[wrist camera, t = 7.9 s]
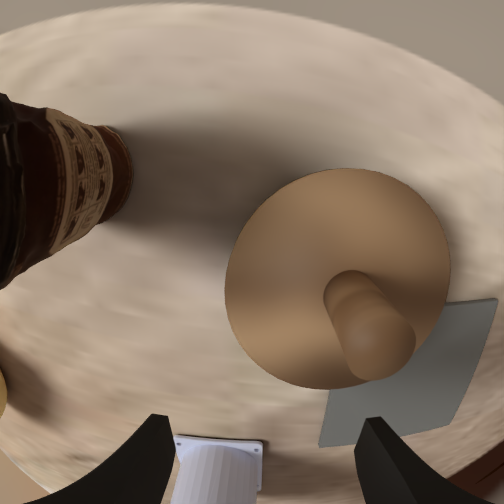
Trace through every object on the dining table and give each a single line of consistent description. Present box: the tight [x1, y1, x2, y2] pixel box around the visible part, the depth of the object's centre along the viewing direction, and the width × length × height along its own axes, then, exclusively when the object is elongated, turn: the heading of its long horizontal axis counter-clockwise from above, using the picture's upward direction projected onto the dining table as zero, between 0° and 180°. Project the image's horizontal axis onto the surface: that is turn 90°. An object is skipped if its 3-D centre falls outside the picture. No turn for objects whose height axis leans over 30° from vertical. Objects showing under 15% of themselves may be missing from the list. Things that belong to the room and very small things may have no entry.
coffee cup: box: [0, 93, 133, 290], centre depth 11 cm, size 9×8×13 cm
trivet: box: [318, 298, 498, 448], centre depth 20 cm, size 14×14×1 cm
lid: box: [225, 168, 450, 390], centre depth 12 cm, size 12×12×6 cm
